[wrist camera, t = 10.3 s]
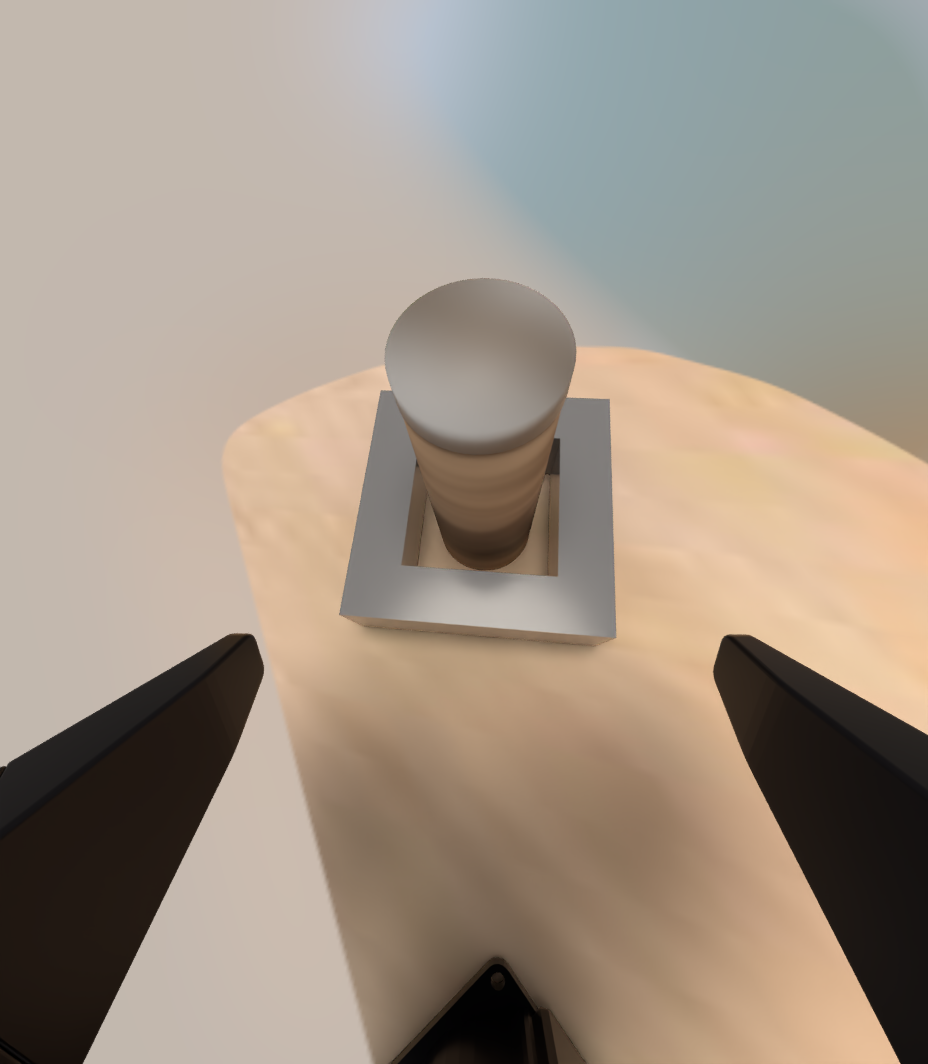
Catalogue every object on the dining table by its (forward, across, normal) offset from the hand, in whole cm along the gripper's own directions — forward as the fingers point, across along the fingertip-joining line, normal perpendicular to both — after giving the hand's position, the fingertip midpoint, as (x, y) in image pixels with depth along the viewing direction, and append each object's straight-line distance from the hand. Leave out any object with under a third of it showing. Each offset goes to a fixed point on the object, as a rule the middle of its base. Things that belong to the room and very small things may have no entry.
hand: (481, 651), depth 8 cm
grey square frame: (+14, 0, +4) cm, 14 cm away
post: (+14, 0, +4) cm, 14 cm away
